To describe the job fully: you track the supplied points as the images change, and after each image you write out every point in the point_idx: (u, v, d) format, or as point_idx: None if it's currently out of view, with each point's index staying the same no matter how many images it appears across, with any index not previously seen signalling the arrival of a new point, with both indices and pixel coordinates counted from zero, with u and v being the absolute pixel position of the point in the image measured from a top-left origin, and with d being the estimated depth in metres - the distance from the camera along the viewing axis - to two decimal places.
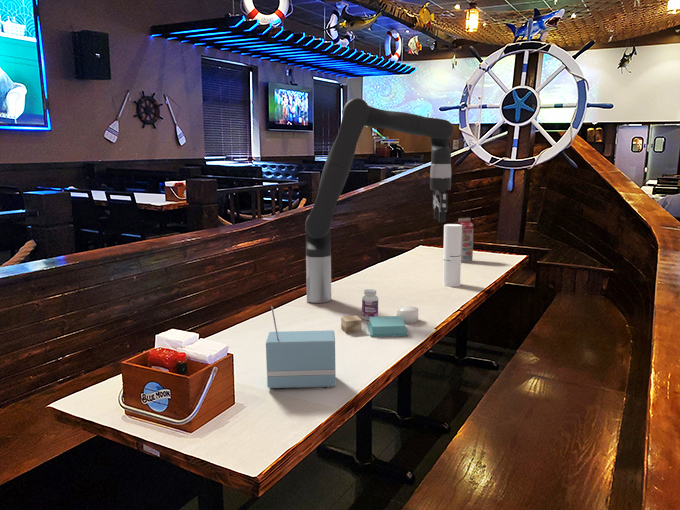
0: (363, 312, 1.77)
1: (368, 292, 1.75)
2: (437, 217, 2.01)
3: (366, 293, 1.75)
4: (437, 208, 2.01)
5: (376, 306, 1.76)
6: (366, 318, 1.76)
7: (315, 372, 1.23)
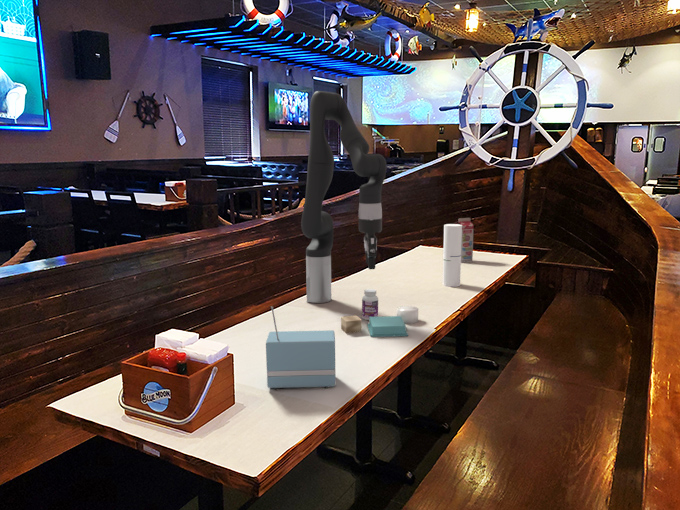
0: (363, 312, 1.77)
1: (368, 292, 1.75)
2: None
3: (366, 293, 1.75)
4: None
5: (376, 306, 1.76)
6: (366, 318, 1.76)
7: (315, 372, 1.23)
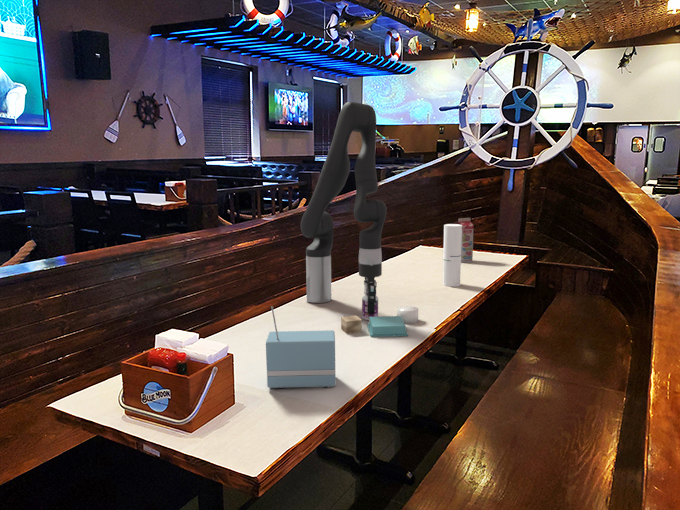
0: (363, 312, 1.77)
1: None
2: None
3: None
4: None
5: (376, 306, 1.76)
6: (366, 318, 1.76)
7: (315, 372, 1.23)
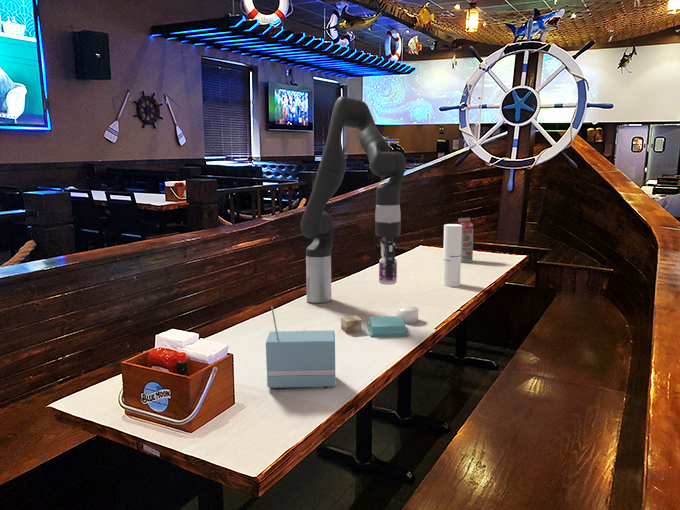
0: (380, 276, 1.61)
1: None
2: None
3: None
4: None
5: (395, 269, 1.61)
6: (384, 282, 1.61)
7: (315, 372, 1.23)
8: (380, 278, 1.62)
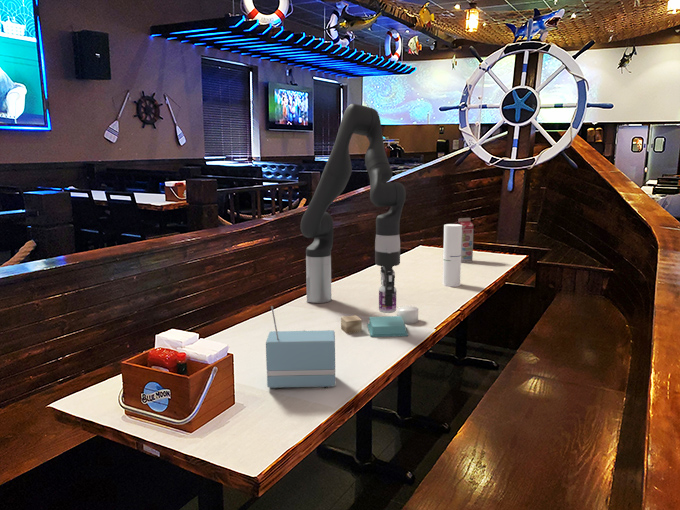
0: (380, 304, 1.63)
1: None
2: None
3: None
4: None
5: (394, 298, 1.62)
6: (383, 311, 1.62)
7: (315, 372, 1.23)
8: (380, 306, 1.63)
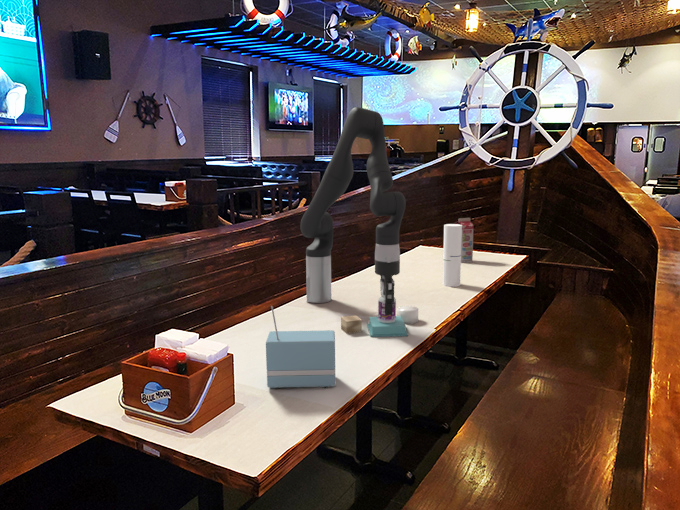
0: (379, 314, 1.64)
1: None
2: None
3: None
4: None
5: (394, 308, 1.63)
6: (383, 321, 1.63)
7: (315, 372, 1.24)
8: (379, 316, 1.64)
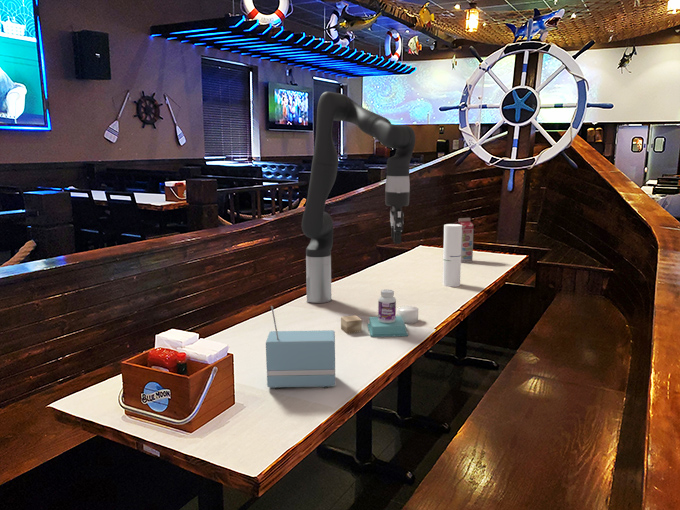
0: (379, 314, 1.64)
1: (385, 293, 1.62)
2: None
3: (383, 294, 1.62)
4: None
5: (394, 308, 1.63)
6: (383, 321, 1.63)
7: (315, 372, 1.24)
8: (379, 316, 1.64)
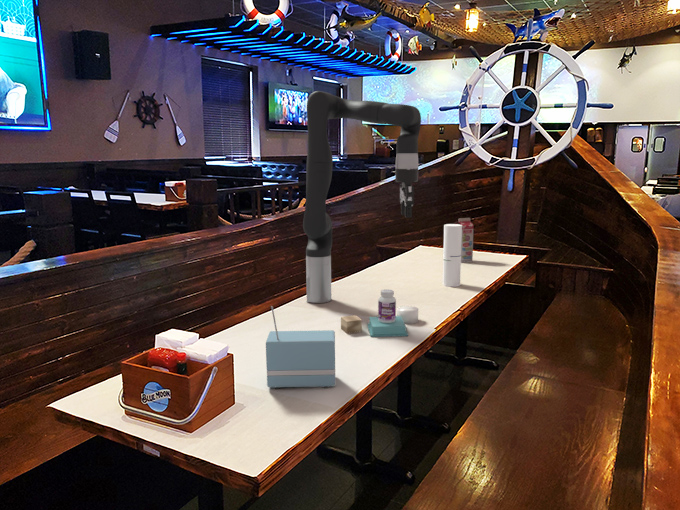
0: (379, 314, 1.64)
1: (385, 293, 1.62)
2: (404, 212, 1.84)
3: (383, 294, 1.62)
4: (404, 202, 1.84)
5: (394, 308, 1.63)
6: (383, 321, 1.63)
7: (315, 372, 1.24)
8: (379, 316, 1.64)
